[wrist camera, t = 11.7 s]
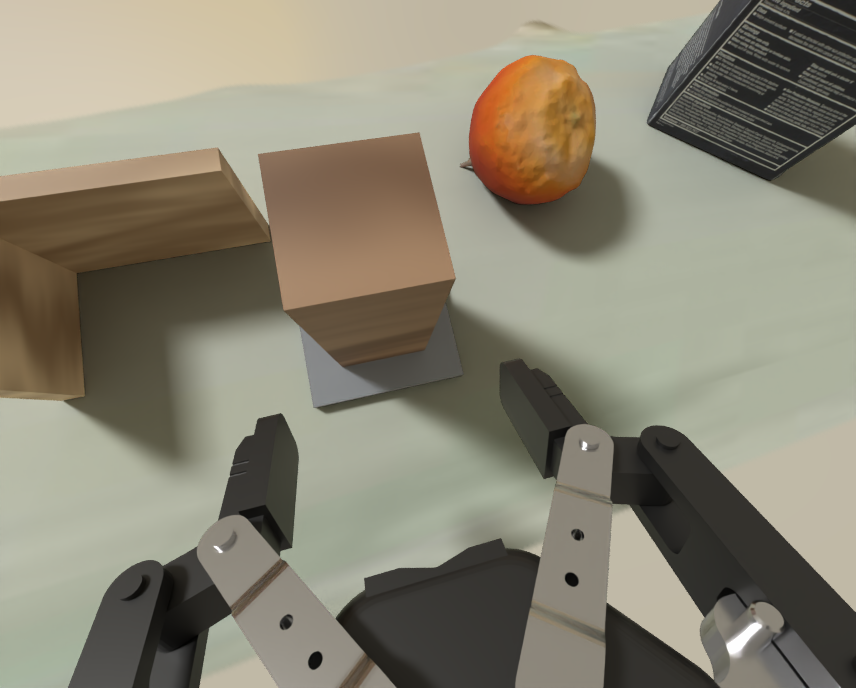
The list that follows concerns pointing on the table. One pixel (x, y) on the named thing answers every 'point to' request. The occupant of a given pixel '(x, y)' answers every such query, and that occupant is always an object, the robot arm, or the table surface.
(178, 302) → the table surface
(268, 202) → the plate
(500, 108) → the fruit
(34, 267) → the shelf end
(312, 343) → the mat
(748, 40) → the small box
